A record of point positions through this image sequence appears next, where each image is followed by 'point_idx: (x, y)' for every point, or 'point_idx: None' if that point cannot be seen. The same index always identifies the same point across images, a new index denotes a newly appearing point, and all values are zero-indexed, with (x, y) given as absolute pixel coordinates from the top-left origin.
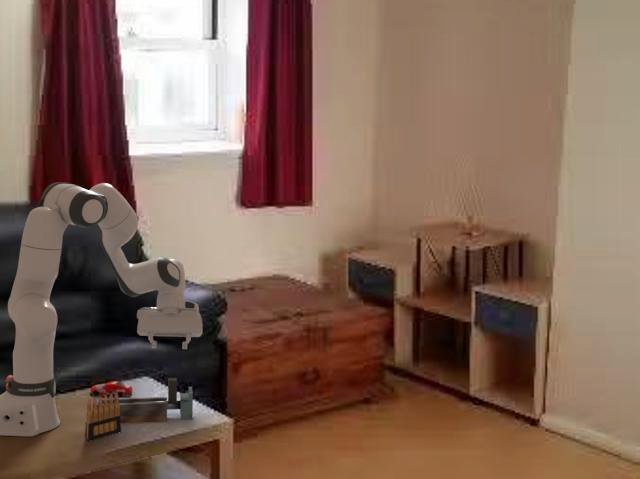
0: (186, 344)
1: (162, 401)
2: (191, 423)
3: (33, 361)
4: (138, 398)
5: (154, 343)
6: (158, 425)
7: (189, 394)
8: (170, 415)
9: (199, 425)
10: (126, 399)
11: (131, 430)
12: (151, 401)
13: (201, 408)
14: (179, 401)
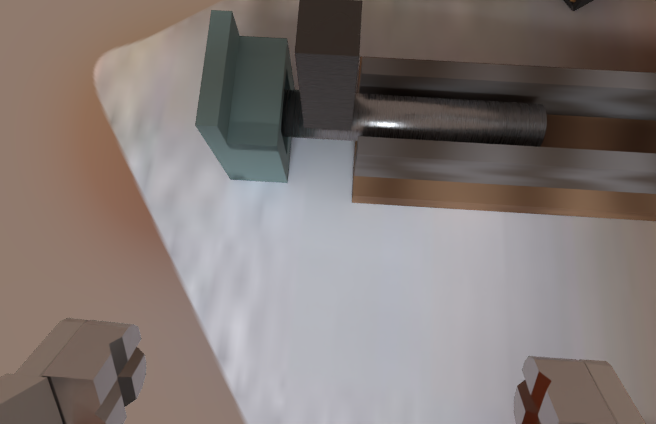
0: (57, 338)
1: (384, 104)
2: None
3: None
4: (522, 151)
5: (578, 382)
6: (398, 39)
7: (232, 15)
8: (337, 147)
9: None
10: (590, 150)
11: (514, 3)
12: (445, 112)
13: (174, 219)
14: (290, 96)
